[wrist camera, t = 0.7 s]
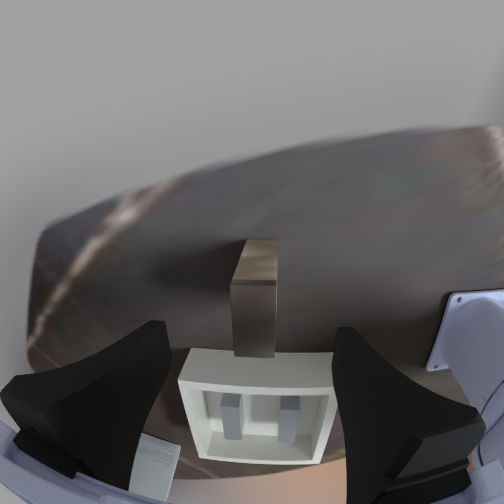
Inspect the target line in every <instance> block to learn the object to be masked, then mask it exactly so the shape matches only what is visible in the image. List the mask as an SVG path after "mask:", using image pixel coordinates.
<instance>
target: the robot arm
mask: <svg viewBox="0 0 504 504" xmlns="http://www.w3.org/2000/svg"><path fill="white" fill-rule="evenodd" d="M459 297H460V298H459ZM458 298H459V299H458ZM457 299H458V300H457ZM171 361H172V355H171V350H170V345H169V340H168V336H167V330H166V325H165V321H157V320H151V321H149V322H148V323H146V324H144V325H143V326H141V327H139V328H138V329H136V330H135V331H133V332H132V333H130V334H128V335H127V336H125V337H124V338H122V339H121V340H119V341H117V342H116V343H114V344H112V345H110V346H109V347H107V348H105V349H103V350H102V351H100V352H98V353H96V354H94V355H92V356H90V357H87V358H85V359H83V360H80V361H78V362H75V363H72V364H69V365H66V366H64V367H61V368H57V369H53V370H49V371H45V372H40V373H34V374H25V375H16V376H15V377H14V378H13V379H12V380H11V381H10V382H9V383H8V384H7V385H6V386H5V387H4V388H3V389H2V391H1V392H0V398H1V401H2V403H3V405H4V406H5V408H6V410H7V411H8V412H9V414H10V415H11V417H12V418H13V419H14V421H15V422H16V424H17V425H18V426H19V428H20V429H21V430H20V431H19V432H18V434H17V433H16V432H15V431H14V430H13V429H12V428H10V427H9V426H8V425H6V424H5V423H3V422H2V421H0V482H1V483H2V484H3V485H4V486H5V487H6V488H8V489H9V490H10V491H11V492H13V493H14V494H15V495H17V496H18V497H19V498H21V499H22V500H23V501H25V502H26V503H28V504H171V503H167V502H163V501H159V500H155V499H152V498H148V497H145V496H141V495H138V494H135V493H131V492H129V485H130V479H131V473H132V468H133V464H134V459H135V455H136V451H137V448H138V444H139V440H140V437H141V434H142V431H143V428H144V424H145V422H146V419H147V417H148V414H149V412H150V410H151V408H152V406H153V404H154V402H155V400H156V398H157V396H158V394H159V392H160V389H161V387H162V385H163V383H164V381H165V379H166V377H167V374H168V371H169V367H170V364H171ZM435 365H436V366H435ZM446 368H449V369H450V370H451V372H452V373H453V375H454V377H455V378H456V380H457V381H458V383H459V385H460V386H461V388H462V390H463V392H464V393H465V395H466V397H467V398H468V400H469V402H470V404H471V405H472V406H469V405H465V404H462V403H459V402H456V401H453V400H450V399H448V398H445V397H443V396H441V395H438V394H436V393H434V392H432V391H430V390H428V389H427V388H425V387H423V386H421V385H419V384H418V383H416V382H414V381H413V380H411V379H410V378H408V377H407V376H405V375H404V374H402V373H401V372H400V371H398V370H397V369H396V368H395V367H393V366H392V365H391V364H390V363H389V362H387V361H386V360H385V359H384V358H383V357H382V356H381V355H379V354H378V353H377V352H376V351H375V350H374V349H373V348H372V347H371V346H370V345H369V344H368V343H367V342H366V341H365V340H364V339H363V338H362V337H361V336H360V335H359V334H358V333H357V332H356V330H355V329H354V328H352V327H338V328H337V334H336V340H335V346H334V352H333V358H332V363H331V369H332V379H333V387H334V391H335V395H336V400H337V404H338V408H339V412H340V417H341V421H342V426H343V431H344V439H345V451H346V468H347V503H346V504H504V289H499V290H487V291H474V292H459V293H453V294H451V295H450V297H449V299H448V303H447V306H446V310H445V313H444V316H443V320H442V323H441V326H440V329H439V332H438V335H437V338H436V341H435V344H434V347H433V349H432V352H431V355H430V357H429V360H428V362H427V365H426V369H427V371H435V370H441V369H446ZM471 452H472V462H473V468H474V470H473V471H472V472H470V473H469V474H468V472H467V469H466V468H467V467H468V466H469V464H470V463H469V460H468V458H467V456H468V455H469V454H470V453H471Z"/></svg>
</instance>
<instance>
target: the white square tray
mask: <svg viewBox="0 0 504 504" xmlns="http://www.w3.org/2000/svg"><path fill="white" fill-rule="evenodd" d="M332 358H333V352H321V353H280V352H275V358H251V357H234V351H230V350H215V349H202V348H191V350H190V352H189V354H188V357H187V359H186V361H185V364H184V366H183V368H182V370H181V373H180V375H179V377H178V384H179V388H180V392H181V396H182V400H183V404H184V407H185V411H186V415H187V418H188V422H189V425H190V428H191V432H192V435H193V438H194V442H195V445H196V448H197V451H198V454H199V457H200V458H205V459H213V460H221V461H230V462H241V463H256V464H319V463H320V460H321V457H322V455H323V452H324V449H325V446H326V443H327V440H328V437H329V433H330V430H331V427H332V424H333V420H334V417H335V414H336V410H337V407H338V404H337V400H336V395H335V391H334V387H333V379H332V369H331V363H332Z"/></svg>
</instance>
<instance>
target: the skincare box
mask: <svg viewBox="0 0 504 504" xmlns="http://www.w3.org/2000/svg"><path fill="white" fill-rule="evenodd" d="M180 449H181V446H180V445H177V444H174V443H171V442H168V441H165V440H162V439H159V438H156V437H153V436H150V435H148V434H145V433H142V434H141V437H140V440H139V444H138V448H137V451H136V455H135V459H134V464H133V468H132V473H131V479H130V485H129V492H131V493H135V494H138V495H141V496H145V497H148V498H152V499H155V500H159V501H163V502H167V497H168V494H169V490H170V486H171V482H172V479H173V475H174V472H175V468H176V464H177V461H178V457H179V453H180Z"/></svg>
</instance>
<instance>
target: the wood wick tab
mask: <svg viewBox="0 0 504 504" xmlns="http://www.w3.org/2000/svg"><path fill="white" fill-rule="evenodd" d="M277 263H278V239H247V241H246V244H245V246H244V249H243V251H242V254H241V257H240V259H239V262H238V265H237V267H236V270H235V273H234V275H233V278H232V281H231V283H230V295H231V313H232V329H233V345H234V357H251V358H275V336H276V308H277Z"/></svg>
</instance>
